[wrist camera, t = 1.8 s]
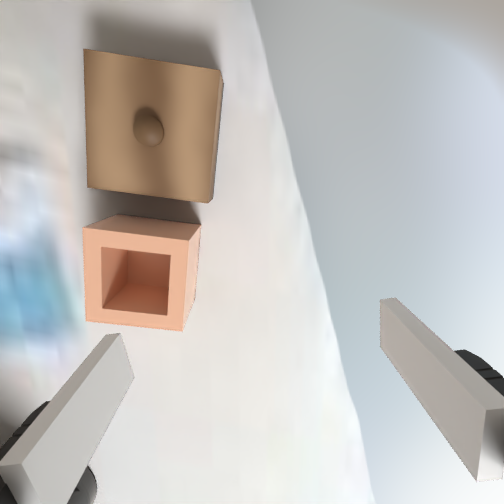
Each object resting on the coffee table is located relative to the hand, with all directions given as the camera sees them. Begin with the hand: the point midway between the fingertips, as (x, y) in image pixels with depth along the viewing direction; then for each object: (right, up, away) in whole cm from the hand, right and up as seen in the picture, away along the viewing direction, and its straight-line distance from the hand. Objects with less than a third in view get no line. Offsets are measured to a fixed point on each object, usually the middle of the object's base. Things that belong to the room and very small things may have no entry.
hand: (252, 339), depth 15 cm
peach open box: (-11, +4, +18) cm, 21 cm away
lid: (-9, +16, +14) cm, 23 cm away
